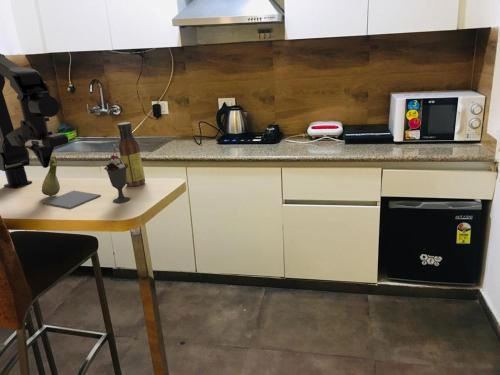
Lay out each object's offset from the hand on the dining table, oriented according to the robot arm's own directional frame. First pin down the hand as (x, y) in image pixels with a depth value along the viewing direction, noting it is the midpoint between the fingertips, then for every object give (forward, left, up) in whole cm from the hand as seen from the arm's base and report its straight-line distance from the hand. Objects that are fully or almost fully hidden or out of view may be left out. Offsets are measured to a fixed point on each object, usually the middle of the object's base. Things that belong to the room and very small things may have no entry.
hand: (45, 167), depth 128 cm
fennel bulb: (-1, 0, -8) cm, 8 cm away
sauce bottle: (+17, +18, -9) cm, 27 cm away
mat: (+9, 0, -9) cm, 13 cm away
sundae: (+24, +5, -9) cm, 26 cm away
